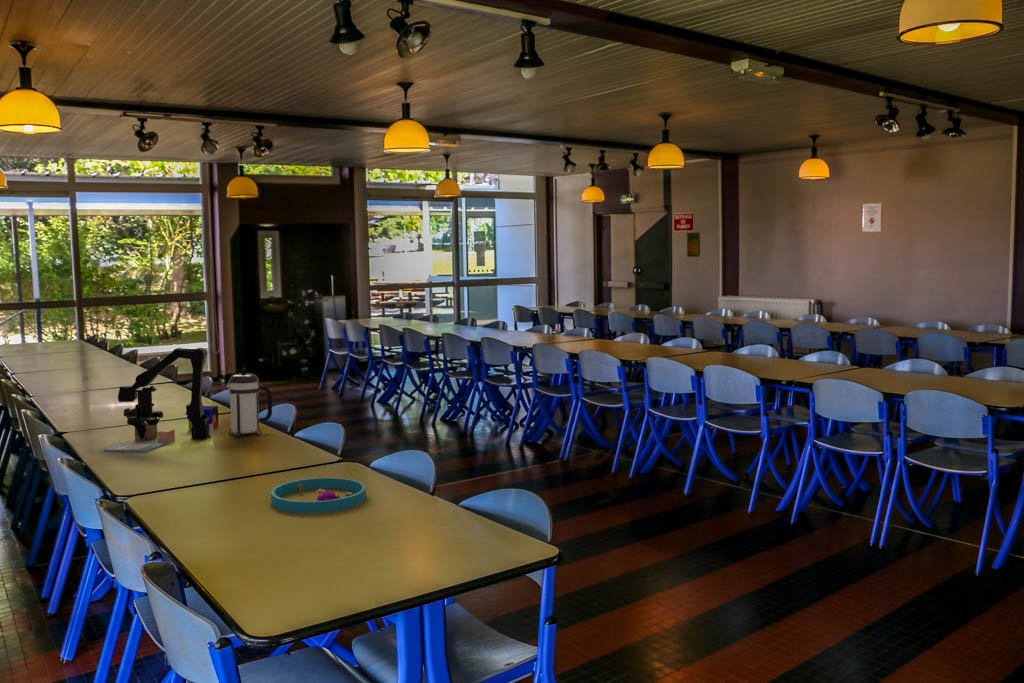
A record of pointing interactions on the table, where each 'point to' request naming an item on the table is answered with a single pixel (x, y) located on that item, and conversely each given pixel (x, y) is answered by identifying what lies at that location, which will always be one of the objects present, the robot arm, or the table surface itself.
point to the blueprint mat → (135, 447)
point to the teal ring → (323, 502)
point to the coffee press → (246, 403)
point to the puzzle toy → (210, 417)
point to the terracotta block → (166, 435)
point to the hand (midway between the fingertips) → (146, 437)
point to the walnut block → (147, 433)
